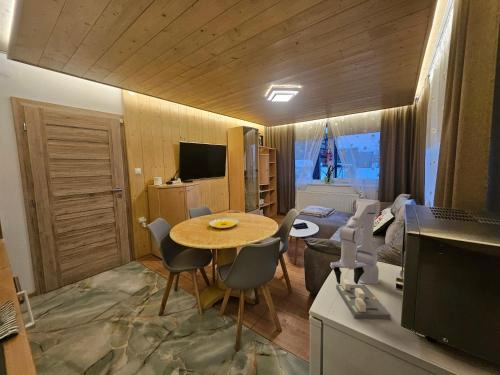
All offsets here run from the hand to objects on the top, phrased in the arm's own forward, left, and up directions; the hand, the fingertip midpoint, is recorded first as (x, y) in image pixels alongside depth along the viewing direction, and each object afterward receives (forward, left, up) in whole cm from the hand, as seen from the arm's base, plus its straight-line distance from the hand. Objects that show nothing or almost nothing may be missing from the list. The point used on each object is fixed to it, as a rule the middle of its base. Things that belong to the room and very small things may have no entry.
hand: (347, 282), depth 92 cm
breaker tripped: (-6, 0, -7) cm, 9 cm away
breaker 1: (-3, -7, -7) cm, 10 cm away
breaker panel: (-6, 0, -9) cm, 11 cm away
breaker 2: (-3, +7, -7) cm, 10 cm away
